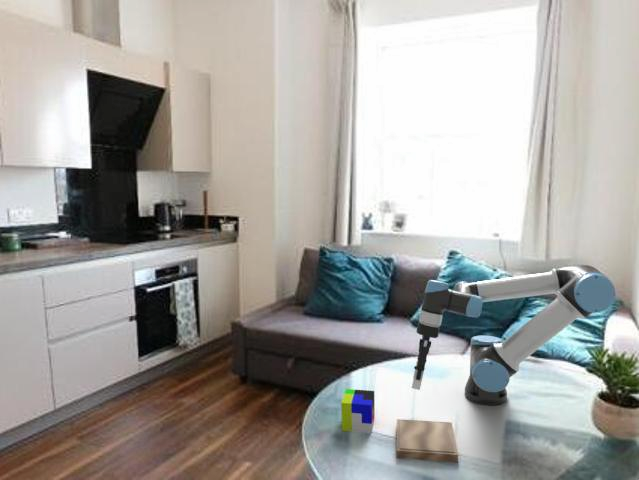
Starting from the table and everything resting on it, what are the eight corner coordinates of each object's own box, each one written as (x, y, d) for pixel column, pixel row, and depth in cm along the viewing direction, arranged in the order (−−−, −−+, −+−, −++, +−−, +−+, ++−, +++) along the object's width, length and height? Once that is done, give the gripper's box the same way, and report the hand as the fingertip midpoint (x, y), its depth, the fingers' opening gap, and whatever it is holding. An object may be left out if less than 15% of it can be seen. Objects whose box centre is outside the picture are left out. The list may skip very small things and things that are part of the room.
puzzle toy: (371, 433, 158) (371, 405, 157) (342, 430, 160) (341, 402, 159) (374, 417, 168) (374, 390, 166) (346, 415, 170) (345, 388, 168)
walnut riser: (451, 429, 159) (451, 421, 158) (458, 462, 141) (458, 454, 141) (396, 426, 162) (396, 418, 161) (396, 458, 144) (396, 449, 144)
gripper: (419, 317, 180) (407, 373, 179) (417, 326, 155) (403, 390, 155) (439, 322, 178) (427, 378, 178) (440, 332, 154) (426, 396, 153)
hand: (416, 383), depth 166 cm, fingers open, 13 cm apart
